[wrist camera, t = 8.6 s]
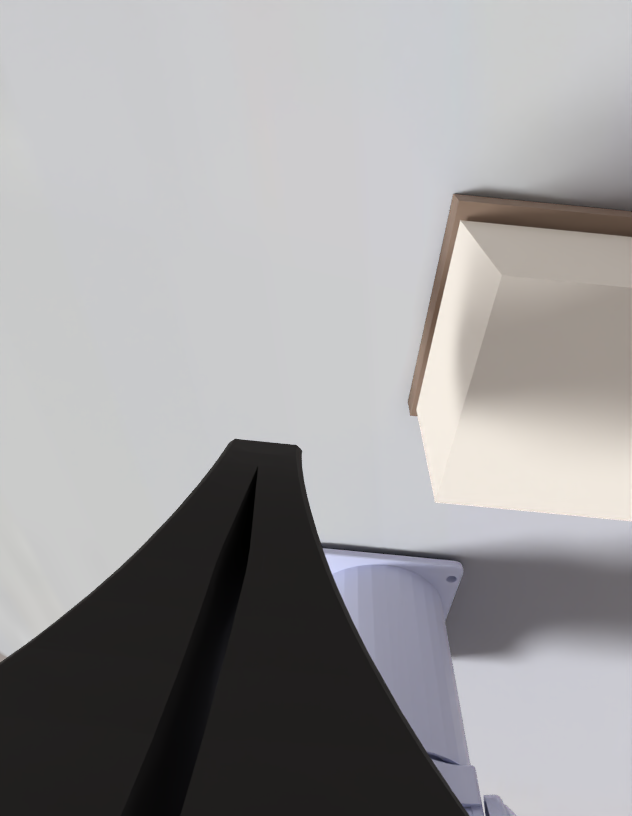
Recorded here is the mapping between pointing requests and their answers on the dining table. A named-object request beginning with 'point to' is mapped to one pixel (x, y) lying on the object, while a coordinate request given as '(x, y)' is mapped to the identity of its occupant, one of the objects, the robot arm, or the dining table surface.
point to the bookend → (532, 373)
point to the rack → (507, 215)
